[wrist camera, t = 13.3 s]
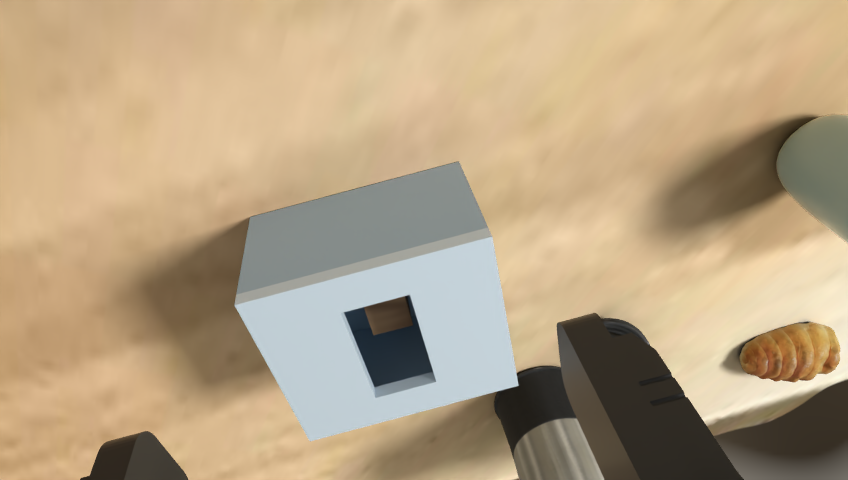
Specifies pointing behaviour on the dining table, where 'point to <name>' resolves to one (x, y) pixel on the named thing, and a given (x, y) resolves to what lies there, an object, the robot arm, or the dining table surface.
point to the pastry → (792, 353)
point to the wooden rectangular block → (389, 315)
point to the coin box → (377, 301)
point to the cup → (819, 170)
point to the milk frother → (549, 423)
